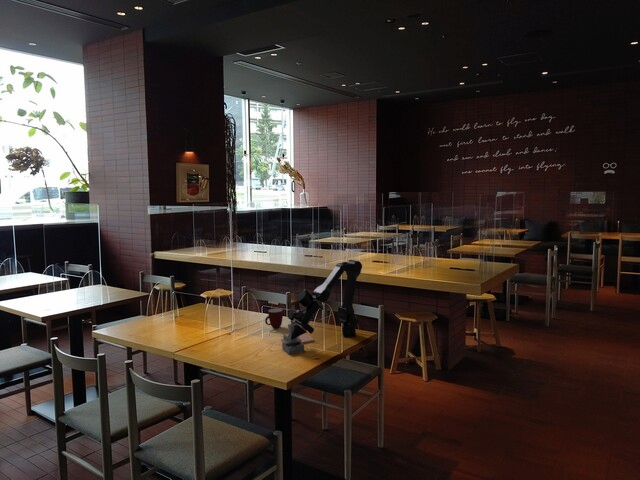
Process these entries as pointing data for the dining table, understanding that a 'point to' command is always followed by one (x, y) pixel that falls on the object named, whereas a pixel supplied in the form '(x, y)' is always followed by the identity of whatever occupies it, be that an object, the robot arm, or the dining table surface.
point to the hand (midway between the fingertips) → (290, 338)
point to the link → (292, 342)
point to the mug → (275, 317)
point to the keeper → (299, 338)
